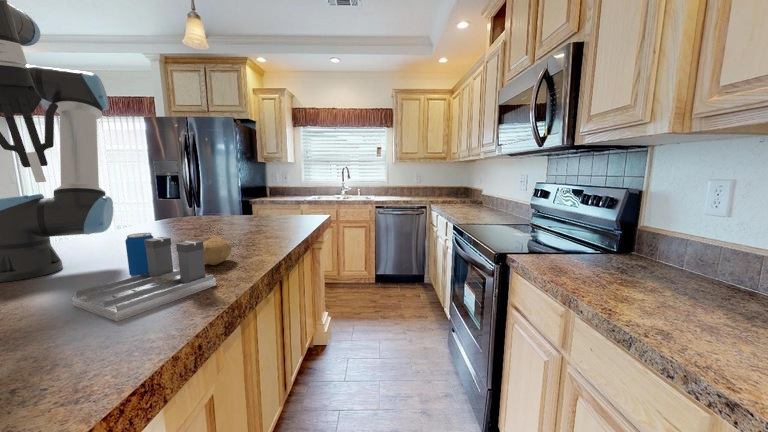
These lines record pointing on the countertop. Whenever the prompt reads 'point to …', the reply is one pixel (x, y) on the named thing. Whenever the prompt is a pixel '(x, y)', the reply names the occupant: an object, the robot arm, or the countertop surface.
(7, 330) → the countertop surface
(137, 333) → the countertop surface
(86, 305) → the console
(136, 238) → the beverage can
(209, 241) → the potato
